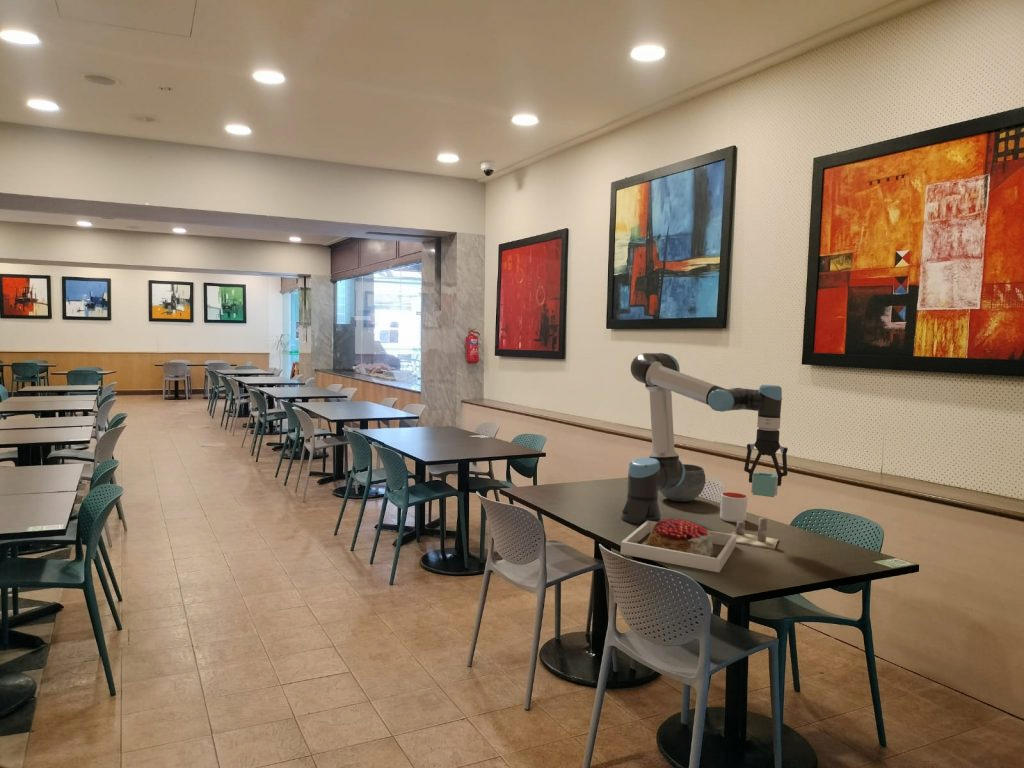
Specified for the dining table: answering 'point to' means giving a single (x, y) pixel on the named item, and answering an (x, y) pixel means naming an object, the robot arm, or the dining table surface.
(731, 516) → the cup
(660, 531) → the cake
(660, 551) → the cake tray
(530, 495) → the dining table surface
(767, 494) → the mint green cube
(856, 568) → the dining table surface
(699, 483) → the bowl
